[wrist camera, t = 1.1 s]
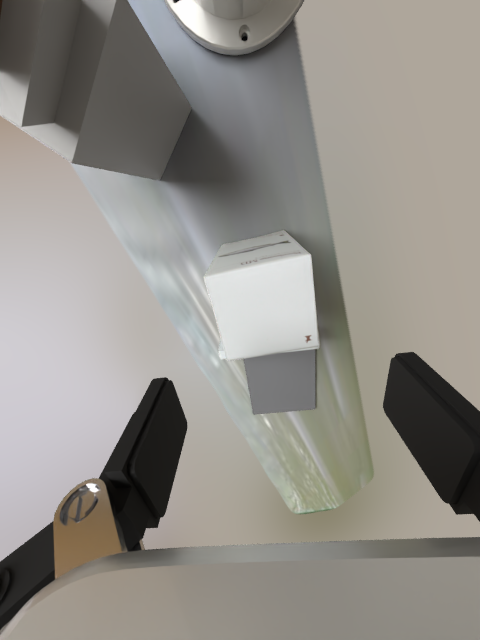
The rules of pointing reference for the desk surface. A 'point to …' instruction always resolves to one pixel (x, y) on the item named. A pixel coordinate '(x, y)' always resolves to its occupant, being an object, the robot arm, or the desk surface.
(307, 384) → the charcoal mat
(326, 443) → the desk surface
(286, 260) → the supplement box
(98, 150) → the perfume bottle
